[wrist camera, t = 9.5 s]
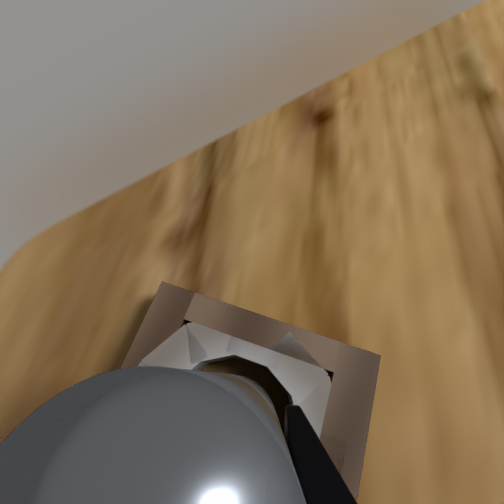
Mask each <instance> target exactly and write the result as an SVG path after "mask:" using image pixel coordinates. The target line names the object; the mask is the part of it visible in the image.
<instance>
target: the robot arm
mask: <svg viewBox="0 0 504 504" xmlns="http://www.w3.org/2000/svg"><path fill="white" fill-rule="evenodd" d="M284 432H285V441H286V444H287V447H288V450H289V453H290V456H291V459H292V462H293V465H294V468H295V471H296V474H297V477H298V480H299V483H300V486H301V489H302V492H303V495H304V498H305V501H306V504H357V502H356V500H355V498H354V497H353V495H352V493H351V492H350V490H349V488H348V487H347V485H346V483H345V481H344V480H343V478H342V476H341V475H340V473H339V471H338V470H337V468H336V466H335V465H334V463H333V461H332V459H331V458H330V456H329V454H328V453H327V451H326V449H325V448H324V446H323V444H322V442H321V441H320V439H319V437H318V436H317V434H316V432H315V431H314V429H313V427H312V425H311V424H310V422H309V420H308V419H307V417H306V415H305V414H304V412H303V410H302V408H301V407H300V406H299V405H287V406H286V407H285V424H284Z"/></svg>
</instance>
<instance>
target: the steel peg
mask: <svg viewBox="0 0 504 504" xmlns="http://www.w3.org/2000/svg"><path fill="white" fill-rule="evenodd" d="M0 504H306V501H305V498H304V495H303V492H302V489H301V486H300V483H299V480H298V477H297V474H296V471H295V468H294V465H293V462H292V459H291V456H290V453H289V450H288V447H287V444H286V441H285V438H284V435H283V432H282V429H281V426H280V423H279V420H278V417H277V414H276V411H275V408H274V405H273V402H272V400H271V398H270V396H269V395H268V393H267V392H266V391H265V390H264V388H263V387H262V386H261V385H259V384H258V383H257V382H256V381H254V380H252V379H250V378H248V377H246V376H242V375H236V374H227V373H217V372H208V371H198V370H189V369H179V368H170V367H160V366H137V367H130V368H123V369H117V370H113V371H109V372H106V373H102V374H99V375H96V376H93V377H91V378H89V379H86V380H84V381H81V382H79V383H77V384H75V385H73V386H71V387H70V388H68V389H66V390H64V391H62V392H61V393H59V394H57V395H56V396H54V397H53V398H51V399H50V400H49V401H47V402H46V403H44V404H43V405H42V406H40V407H39V408H37V409H36V410H35V411H34V412H33V413H32V414H30V415H29V416H28V417H27V418H26V419H25V420H24V421H22V422H21V423H20V424H19V425H18V426H17V427H16V428H15V429H14V430H13V431H12V432H11V433H10V434H9V435H8V437H7V438H6V439H5V440H4V441H3V442H2V443H1V444H0Z"/></svg>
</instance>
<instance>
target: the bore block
mask: <svg viewBox="0 0 504 504" xmlns="http://www.w3.org/2000/svg"><path fill="white" fill-rule="evenodd" d="M233 358H241V359H244V360H246V361H249V362H252V363H255V364H257V365H260V366H263V367H265V368H267V369H268V371H269V372H270V373H271V374H272V375H273V377H274V378H275V379H276V380H277V381H278V383H279V384H280V385H281V386H282V387H283V389H284V390H285V391H286V392H287V395H288V400H289V404H290V405H299V406H300V407H301V408H302V410H303V412H304V414H305V415H306V417H307V419H308V420H309V422H310V424H311V425H312V427H313V429H314V431H315V432H316V434H317V436H318V437H319V439H320V441H321V442H322V444H323V446H324V448H325V449H326V451H327V453H328V454H329V456H330V458H331V459H332V461H333V463H334V465H335V466H336V468H337V470H338V471H339V473H340V475H341V476H342V478H343V480H344V481H345V483H346V485H347V487H348V488H349V490H350V492H351V493H352V495H353V497H354V498H355V500H356V502H357V497H358V491H359V485H360V479H361V473H362V467H363V461H364V455H365V448H366V442H367V436H368V430H369V424H370V418H371V412H372V406H373V400H374V394H375V388H376V382H377V376H378V370H379V364H380V358H381V355H378V354H375V353H372V352H369V351H366V350H363V349H360V348H357V347H354V346H351V345H348V344H345V343H343V342H340V341H337V340H334V339H331V338H328V337H325V336H322V335H319V334H316V333H313V332H310V331H307V330H304V329H301V328H298V327H295V326H292V325H289V324H286V323H284V322H281V321H278V320H275V319H272V318H269V317H266V316H263V315H260V314H257V313H254V312H251V311H248V310H245V309H242V308H239V307H236V306H233V305H230V304H227V303H225V302H222V301H219V300H216V299H213V298H210V297H207V296H204V295H201V294H198V293H195V292H192V291H189V290H186V289H183V288H180V287H177V286H174V285H171V284H168V283H166V282H163V281H162V282H161V284H160V286H159V288H158V291H157V293H156V295H155V297H154V299H153V301H152V303H151V305H150V307H149V309H148V311H147V314H146V316H145V318H144V320H143V322H142V324H141V326H140V328H139V330H138V332H137V334H136V336H135V339H134V341H133V343H132V345H131V347H130V349H129V351H128V353H127V355H126V357H125V359H124V362H123V364H122V366H121V368H120V369H123V368H130V367H137V366H160V367H170V368H179V369H189V370H198V371H201V370H202V369H203V368H204V367H205V366H206V365H208V364H209V363H213V362H218V361H223V360H228V359H233Z"/></svg>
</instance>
